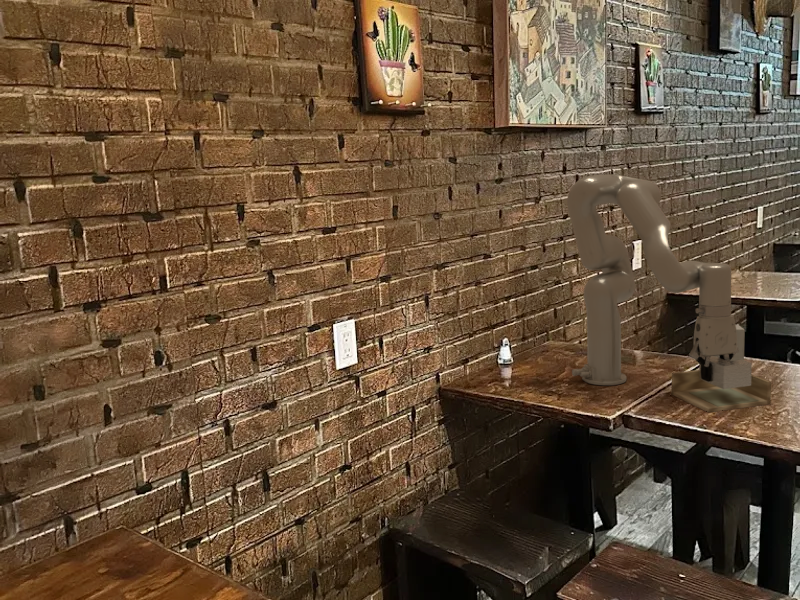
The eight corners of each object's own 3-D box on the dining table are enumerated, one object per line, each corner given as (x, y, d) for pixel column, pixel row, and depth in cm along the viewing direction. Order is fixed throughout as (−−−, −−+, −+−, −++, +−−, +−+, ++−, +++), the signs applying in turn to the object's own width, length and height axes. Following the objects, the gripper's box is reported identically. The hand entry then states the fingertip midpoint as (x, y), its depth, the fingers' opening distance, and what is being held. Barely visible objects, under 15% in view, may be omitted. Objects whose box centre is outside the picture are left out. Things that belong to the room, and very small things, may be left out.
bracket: (699, 379, 191) (699, 357, 190) (725, 375, 192) (726, 354, 191) (723, 389, 181) (723, 366, 180) (751, 385, 183) (751, 362, 182)
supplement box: (744, 370, 213) (745, 329, 211) (717, 370, 215) (718, 329, 213) (737, 364, 220) (739, 324, 218) (712, 364, 222) (713, 324, 220)
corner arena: (708, 412, 180) (708, 389, 179) (671, 394, 195) (671, 373, 194) (770, 404, 183) (771, 381, 182) (729, 386, 199) (730, 366, 198)
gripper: (694, 316, 179) (694, 386, 182) (753, 310, 183) (751, 379, 186) (677, 311, 187) (677, 379, 190) (733, 305, 190) (732, 372, 193)
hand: (713, 378), depth 188 cm, fingers closed on bracket, 4 cm apart
